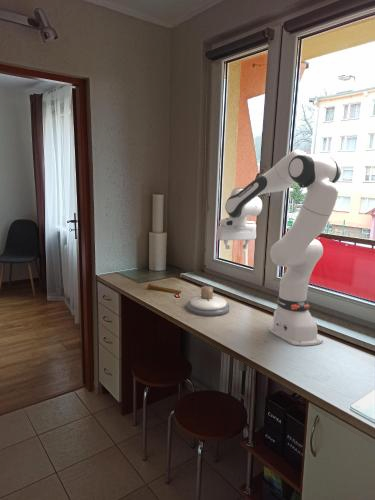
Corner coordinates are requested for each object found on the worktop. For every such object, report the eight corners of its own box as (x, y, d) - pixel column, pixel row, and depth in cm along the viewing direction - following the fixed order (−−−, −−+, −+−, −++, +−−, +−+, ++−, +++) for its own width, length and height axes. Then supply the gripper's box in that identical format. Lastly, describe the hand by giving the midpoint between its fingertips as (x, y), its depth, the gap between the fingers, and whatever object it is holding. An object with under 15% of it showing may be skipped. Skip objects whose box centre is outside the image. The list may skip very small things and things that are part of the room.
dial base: (235, 314, 170) (236, 310, 170) (194, 317, 165) (194, 312, 164) (220, 300, 189) (220, 296, 189) (182, 303, 184) (182, 298, 183)
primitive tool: (182, 292, 203) (182, 285, 202) (179, 295, 197) (179, 288, 197) (148, 288, 207) (148, 282, 206) (145, 291, 202) (145, 285, 201)
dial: (222, 298, 186) (223, 286, 185) (229, 310, 169) (230, 296, 168) (188, 298, 184) (189, 285, 183) (193, 310, 167) (193, 296, 166)
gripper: (253, 220, 189) (251, 247, 191) (216, 220, 182) (215, 248, 185) (259, 222, 183) (257, 249, 185) (221, 222, 176) (220, 250, 179)
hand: (236, 248), depth 185 cm, fingers open, 8 cm apart
